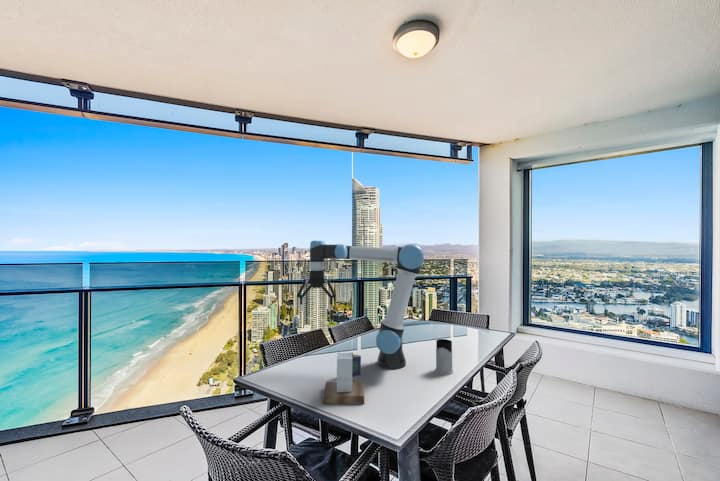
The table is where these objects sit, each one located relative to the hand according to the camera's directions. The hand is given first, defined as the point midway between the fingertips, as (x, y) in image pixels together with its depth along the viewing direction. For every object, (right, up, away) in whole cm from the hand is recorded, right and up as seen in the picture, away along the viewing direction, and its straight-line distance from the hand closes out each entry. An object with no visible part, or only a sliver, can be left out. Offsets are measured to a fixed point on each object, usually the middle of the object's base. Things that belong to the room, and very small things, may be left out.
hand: (316, 311), depth 160 cm
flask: (+19, -28, -12) cm, 36 cm away
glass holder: (+66, -29, -4) cm, 73 cm away
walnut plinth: (+16, -27, -34) cm, 47 cm away
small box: (+16, -24, -34) cm, 45 cm away
